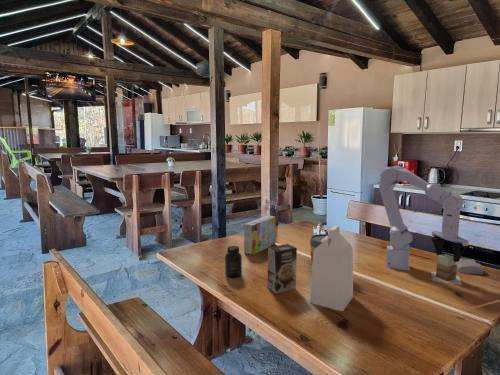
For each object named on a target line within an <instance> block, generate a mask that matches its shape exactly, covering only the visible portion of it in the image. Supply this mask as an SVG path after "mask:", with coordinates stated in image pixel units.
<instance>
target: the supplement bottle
mask: <svg viewBox="0 0 500 375" xmlns="http://www.w3.org/2000/svg"><path fill="white" fill-rule="evenodd" d="M226 249H227V250H226V252H227V253H226V254H225V255H224V268H225V270H224V272H225V273H224V275H225V276H226V278H228V279H239V278H241V277H242V274H243V267H242V266H243V260H242V259H243V258H242V254H241V253H240V247H239V246H238V245H229V246H227V248H226Z"/></svg>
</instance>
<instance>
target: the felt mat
mask: <svg viewBox="0 0 500 375" xmlns="http://www.w3.org/2000/svg"><path fill="white" fill-rule="evenodd" d="M430 275H431V279H432V282H438V283H445V284H453V285H459V286H462V285H463V283H462V280H461V278H460V276H459V275H458V274H456V279H455V280H451V281H445V280H443V279H440V278H438V277H436V271H430Z"/></svg>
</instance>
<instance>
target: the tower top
mask: <svg viewBox="0 0 500 375" xmlns="http://www.w3.org/2000/svg"><path fill="white" fill-rule="evenodd" d="M436 270H439V271H441V272H444V273H446V274H450V273H455V272H458V271H457V265H453V266H448V267H447V266H445V265H442V264H440V263H437V262H436Z"/></svg>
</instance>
